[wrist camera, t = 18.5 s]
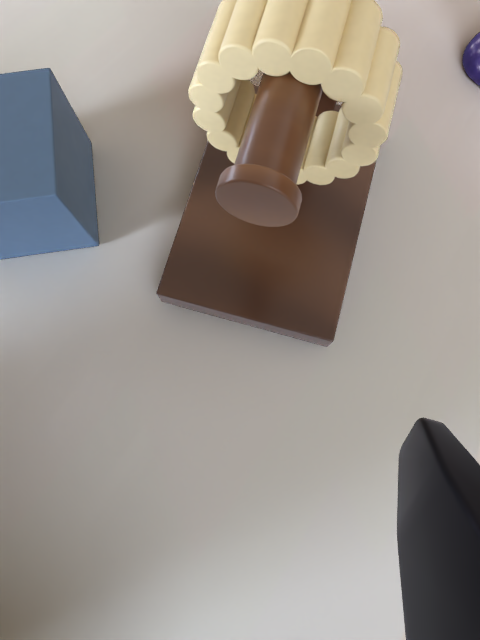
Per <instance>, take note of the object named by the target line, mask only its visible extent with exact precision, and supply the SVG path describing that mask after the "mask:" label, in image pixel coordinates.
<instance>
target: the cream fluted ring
mask: <svg viewBox="0 0 480 640" xmlns="http://www.w3.org/2000/svg"><path fill="white" fill-rule="evenodd" d="M382 19H383V15H382V11H381V8H380V6H379V5H378V4H377V3H376V2H375V1H374V0H223V1H222V2H221V3H220V5H219V7H218V10H217V13H216V16H215V18H214V21H213V24H212V27H211V29H210V31H209V34H208V37H207V40H206V42H205V45H204V48H203V51H202V53H201V56H200V59H199V62H198V65H197V67H196V70H195V73H194V76H193V78H192V81H191V84H190V87H189V90H188V93H189V98H190V100H191V101H192V102H193V104H194V105H195V108H194V111H193V119H194V121H195V123H196V124H197V125H198V126H199V127H201V128H202V129H204V130H206V131H207V139H208V141H209V143H210V144H211V145H212V146H214V147H215V148H217V149H219V150H222V151H227V156H228V158H229V160H230V161H231V162H233V163H234V164H235V161H236V157H237V154H238V151H239V148H240V145H241V142H242V139H243V136H244V132H245V129H246V126H247V123H248V120H249V117H250V114H251V110H252V107H253V104H254V101H255V98H256V95H257V94H255V89H254V86H253V84H252V83H251V82H250V81H249V80H250V79H252V78H254V77H255V76H256V75H257V74H258V72H259V70H260V71H262V72H263V73H265V74H267V75H270V76H283V75H286V74H287V73H289V72H291V74H292V75H293V77H294V78H296V79H297V80H298V81H300V82H302V83H304V84H308V85H318V84H321V87H322V90H323V92H324V93H325V94H326V95H327V96H328V97H329V98H331V99H332V100H335V101H338V102H343V103H342V107H341V108H340V110H339V112H337V111H325V112H323V113H321V114H320V115H319V116H318V117H316V116H315V119H314V123H313V126H312V130H311V133H310V137H309V141H308V144H307V148H306V151H305V155H304V158H303V162H302V166H301V169H300V173H299V176H298V180H297V183H296V184H303V183H305V182H306V181H309V182H311V183H313V184H317V185H326V184H330V183H331V182H332V181H333V180H334V178H335V177H337V178H344V179H345V178H351V177H354V176H355V175H356V174H357V173H358V172H359V169H360V166H367V165H370V164H372V163H374V162H375V161H376V160H377V158H378V154H379V150H380V146H381V145H382V144H383V143H384V142H385V141H386V139H387V137H388V133H389V128H390V124H391V120H392V116H393V111H394V107H395V103H396V99H397V94H398V90H399V86H400V81H401V77H402V67H401V65H400V64H399V62H398V61H396V60H397V56H398V52H399V48H400V41H399V38H398V36H397V34H396V33H395V32H394V31H393V30H391V29H389V28H387V27H381V24H382Z"/></svg>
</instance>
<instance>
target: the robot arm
mask: <svg viewBox="0 0 480 640" xmlns="http://www.w3.org/2000/svg"><path fill="white" fill-rule="evenodd" d="M397 541H398V555H399V566H400V577H401V588H402V600H403V611H404V622H405V633H406V640H480V465H479V464H478V463H477V461H476V460H475V459H474V458H473V457H472V456H471V455H470V453H469V452H468V451H467V450H466V449H465V448H464V446H463V445H462V444H461V443H460V442H459V441H458V440H457V438H456V437H455V436H454V435H453V434H452V433H451V431H450V430H449V429H448V428H447V427H446V426H445V425H444V424H443V423H441V422H438V421H434V420H431V419H427V418H419V419H418V420H417V421H416V422H415V424H414V426H413V428H412V429H411V431H410V433H409V434H408V436H407V438H406V440H405V441H404V443H403V445H402V447H401V450H400V453H399V470H398V507H397Z"/></svg>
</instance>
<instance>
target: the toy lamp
mask: <svg viewBox="0 0 480 640" xmlns="http://www.w3.org/2000/svg"><path fill="white" fill-rule="evenodd" d="M462 61H463V67H464V69H465V72H466V73H467V75H468V76H469V77H470V78H471V79H472V80H473V81H474V82H475V83H476V84H478V85H480V32H479V33H478V34H477V35H476V36H475V37H474V38H473V39H472V40H471V41H470V42H469V44H468V45H467V47H466V49H465V51H464V54H463V60H462Z"/></svg>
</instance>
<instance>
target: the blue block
mask: <svg viewBox="0 0 480 640" xmlns="http://www.w3.org/2000/svg"><path fill="white" fill-rule="evenodd" d="M93 246H99V238H98V224H97V211H96V198H95V185H94V172H93V158H92V145H91V141H90V139H89V138H88V136H87V134H86V132H85V130H84V129H83V127H82V125H81V123H80V121H79V120H78V118H77V116H76V114H75V112H74V111H73V109H72V107H71V105H70V103H69V102H68V100H67V98H66V96H65V94H64V92H63V91H62V89H61V87H60V85H59V83H58V82H57V80H56V78H55V76H54V74H53V73H52V71H51V69H50V68H44V69H36V70H28V71H20V72H12V73H5V74H0V259H6V258H13V257H21V256H28V255H35V254H42V253H50V252H57V251H64V250H71V249H79V248H86V247H93Z"/></svg>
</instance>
